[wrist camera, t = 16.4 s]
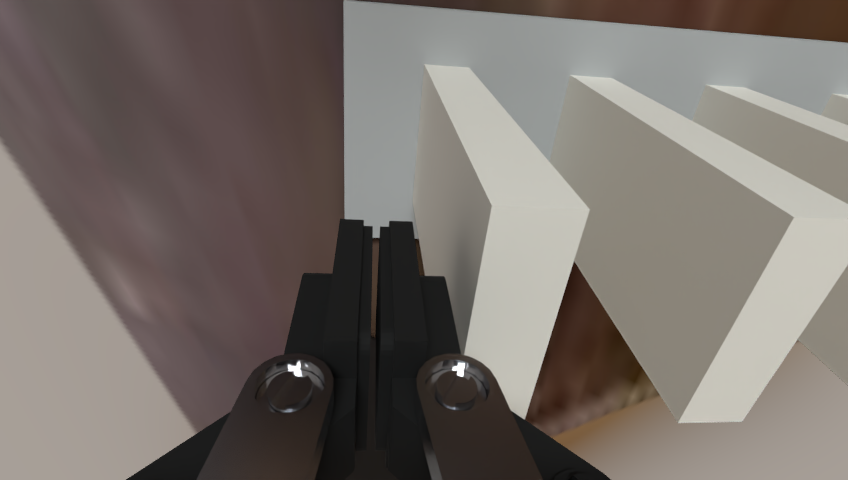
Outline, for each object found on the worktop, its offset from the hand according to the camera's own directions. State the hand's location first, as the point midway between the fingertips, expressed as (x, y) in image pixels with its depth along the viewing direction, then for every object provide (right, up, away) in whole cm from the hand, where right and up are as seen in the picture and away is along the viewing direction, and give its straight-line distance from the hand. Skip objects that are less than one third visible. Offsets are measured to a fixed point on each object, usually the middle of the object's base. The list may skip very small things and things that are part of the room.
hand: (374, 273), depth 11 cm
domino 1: (+2, +5, +9) cm, 10 cm away
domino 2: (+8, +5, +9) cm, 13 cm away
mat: (+13, +5, +10) cm, 17 cm away
